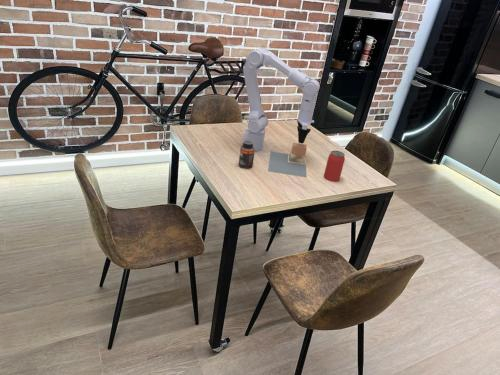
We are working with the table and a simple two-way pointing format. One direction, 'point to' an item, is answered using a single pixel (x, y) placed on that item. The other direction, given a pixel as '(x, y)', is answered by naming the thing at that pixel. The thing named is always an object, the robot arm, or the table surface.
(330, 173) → the beer can
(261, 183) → the table surface
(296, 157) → the base block
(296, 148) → the terracotta block
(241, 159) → the supplement bottle
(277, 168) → the board
